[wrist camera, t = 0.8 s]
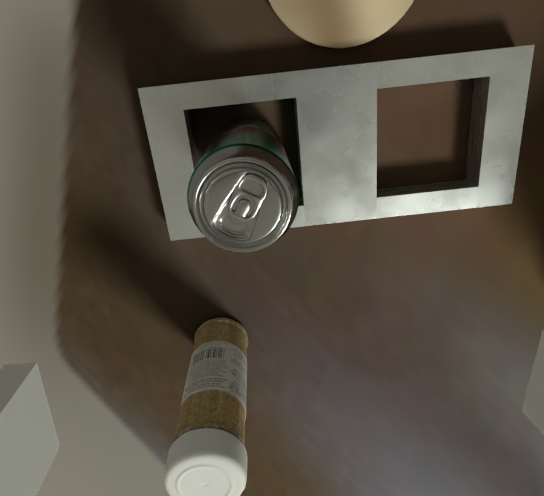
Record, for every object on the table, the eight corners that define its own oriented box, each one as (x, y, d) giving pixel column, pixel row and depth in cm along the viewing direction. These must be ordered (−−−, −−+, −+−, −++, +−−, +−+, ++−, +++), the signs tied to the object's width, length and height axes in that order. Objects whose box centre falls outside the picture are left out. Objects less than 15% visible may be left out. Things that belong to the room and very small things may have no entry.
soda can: (199, 171, 29) (165, 234, 18) (228, 103, 27) (210, 126, 16) (264, 200, 30) (270, 277, 19) (295, 136, 28) (322, 180, 17)
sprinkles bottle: (196, 359, 35) (165, 514, 23) (193, 314, 34) (158, 457, 21) (249, 359, 36) (246, 512, 23) (249, 314, 34) (246, 455, 21)
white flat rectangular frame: (515, 46, 26) (534, 44, 25) (496, 195, 30) (512, 203, 29) (145, 87, 26) (137, 88, 25) (175, 230, 31) (170, 240, 29)
